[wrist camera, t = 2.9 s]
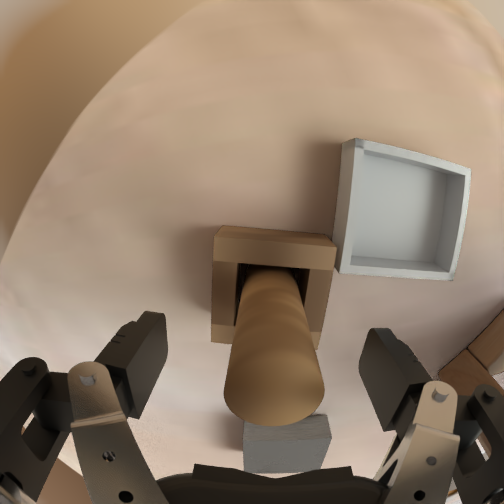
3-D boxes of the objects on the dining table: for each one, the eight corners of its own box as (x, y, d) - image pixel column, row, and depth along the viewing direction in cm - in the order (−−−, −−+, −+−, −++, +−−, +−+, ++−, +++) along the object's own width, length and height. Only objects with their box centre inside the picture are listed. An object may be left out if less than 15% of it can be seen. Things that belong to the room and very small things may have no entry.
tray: (449, 168, 15) (471, 169, 12) (433, 268, 16) (452, 280, 14) (342, 143, 15) (355, 138, 12) (329, 259, 17) (339, 273, 14)
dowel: (296, 256, 17) (334, 360, 7) (290, 302, 18) (313, 426, 8) (246, 252, 17) (224, 353, 7) (243, 298, 18) (222, 422, 8)
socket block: (324, 234, 16) (337, 247, 13) (310, 323, 18) (317, 349, 15) (222, 225, 16) (213, 236, 13) (218, 316, 18) (211, 342, 15)
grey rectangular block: (326, 412, 21) (331, 437, 18) (316, 448, 22) (319, 470, 19) (244, 413, 21) (242, 440, 18) (245, 449, 23) (244, 472, 20)
